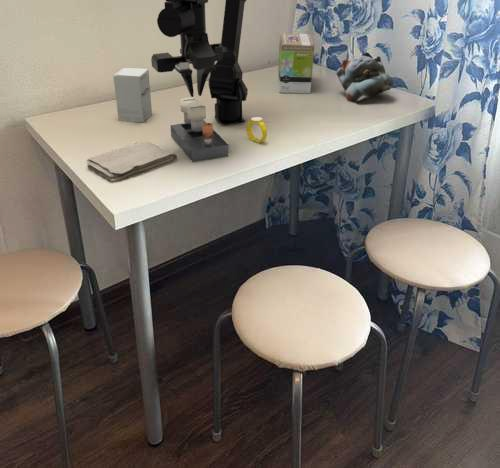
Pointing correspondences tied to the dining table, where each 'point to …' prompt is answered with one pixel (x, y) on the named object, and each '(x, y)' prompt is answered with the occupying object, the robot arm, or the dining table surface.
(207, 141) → the orange bulb
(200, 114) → the knob
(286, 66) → the tea box
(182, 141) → the dark grey tray
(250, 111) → the dining table surface
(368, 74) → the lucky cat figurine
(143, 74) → the supplement box
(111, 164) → the washcloth
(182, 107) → the knob
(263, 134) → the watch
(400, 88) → the dining table surface
